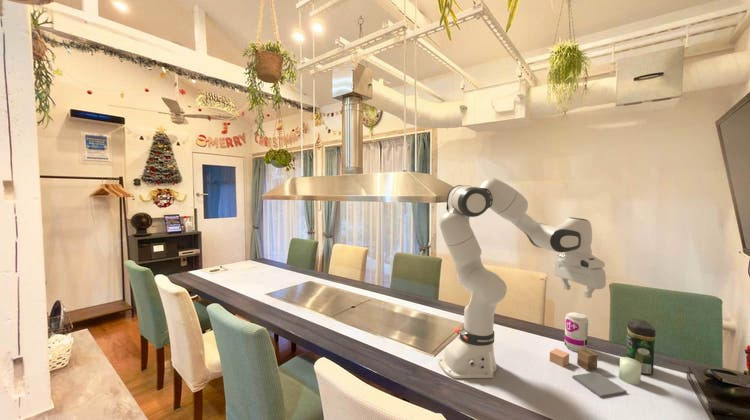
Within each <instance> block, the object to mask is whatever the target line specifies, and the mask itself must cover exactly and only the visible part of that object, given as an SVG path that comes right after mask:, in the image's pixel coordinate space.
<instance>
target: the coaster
mask: <svg viewBox="0 0 750 420" xmlns="http://www.w3.org/2000/svg"><path fill="white" fill-rule="evenodd" d="M572 379H573V380H574V381H576V382H577V383H579V384H580V385H582V387H585V388H586V389H587V390H589V391H590V392H592V393H593V394H594V395H596V396H597V397H599V398H606V397H611V396H617V395H623V394H627V390H626V389H624V388H623V387H621V386H620V385H618V384H617V383H615V382H613V381H612V380H610V379H609V378H607V377H606V376H604V375H603V374H601V373H599V372H597V371H594V372H587V373H582V374H581V373H580V374H576V375H572Z"/></svg>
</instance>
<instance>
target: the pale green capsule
mask: <svg viewBox="0 0 750 420" xmlns="http://www.w3.org/2000/svg"><path fill="white" fill-rule="evenodd" d="M618 368H619V370H618V378H619V380H620V381H622V382H624V383H626V384H628V385H631V386H640V385H641V381H642V380H641V375H642V374H641V363H640V362H639V361H637V360H635V359H632V358H628V357H626V356H621V357H620V358H619V367H618Z"/></svg>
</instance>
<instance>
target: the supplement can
mask: <svg viewBox="0 0 750 420" xmlns="http://www.w3.org/2000/svg"><path fill="white" fill-rule="evenodd" d="M564 322H565V325H564V328H565V329H564V341H563V342H564V343H563V344H564V346H565V347H566V348H567V349H568V350H570V351H572V352H576V353H578V350H583V349H588V337H589V336H588V335H589V334H588V333H589V332H588V330H589V319H588V317H587V315H586V314H584V313H582V312H580V311H579V312H577V311H568V312H567V313H566V315H565V320H564Z"/></svg>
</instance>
